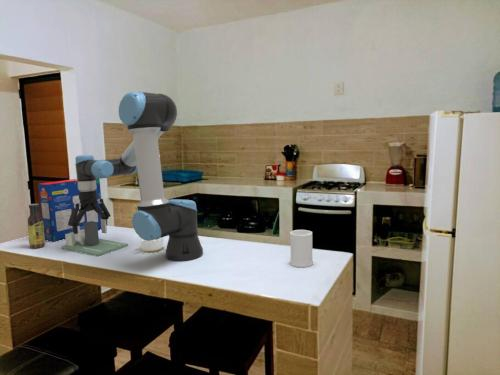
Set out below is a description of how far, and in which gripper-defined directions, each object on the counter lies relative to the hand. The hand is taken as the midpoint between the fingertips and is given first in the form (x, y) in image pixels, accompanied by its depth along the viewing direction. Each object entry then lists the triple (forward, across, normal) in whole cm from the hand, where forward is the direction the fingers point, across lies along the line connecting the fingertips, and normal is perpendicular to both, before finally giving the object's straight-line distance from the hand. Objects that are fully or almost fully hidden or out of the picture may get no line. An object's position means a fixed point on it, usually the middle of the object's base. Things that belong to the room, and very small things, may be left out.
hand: (91, 236), depth 168 cm
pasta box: (+5, -11, -28) cm, 30 cm away
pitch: (+5, 0, +2) cm, 5 cm away
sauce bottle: (+5, +11, -24) cm, 27 cm away
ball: (+2, 0, -7) cm, 8 cm away
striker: (+3, 0, -2) cm, 4 cm away
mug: (+5, -22, +93) cm, 96 cm away
